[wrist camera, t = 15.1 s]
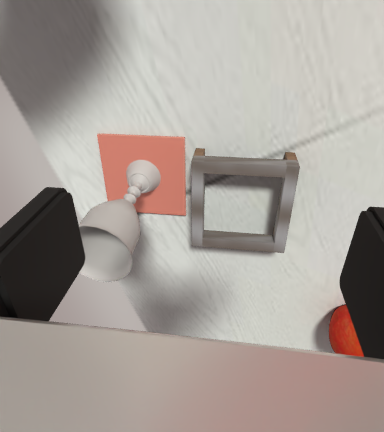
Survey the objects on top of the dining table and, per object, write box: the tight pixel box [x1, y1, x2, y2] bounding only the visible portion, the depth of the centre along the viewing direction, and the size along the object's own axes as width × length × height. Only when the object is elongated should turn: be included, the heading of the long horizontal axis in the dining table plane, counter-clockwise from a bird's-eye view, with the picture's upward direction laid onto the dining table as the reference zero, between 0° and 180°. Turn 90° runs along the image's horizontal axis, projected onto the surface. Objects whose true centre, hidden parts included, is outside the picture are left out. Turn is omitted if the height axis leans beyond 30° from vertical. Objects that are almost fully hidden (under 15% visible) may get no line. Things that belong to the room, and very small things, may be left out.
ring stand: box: [191, 148, 300, 253], centre depth 45 cm, size 13×13×5 cm
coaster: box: [97, 134, 186, 215], centre depth 47 cm, size 12×12×1 cm
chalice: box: [79, 160, 161, 282], centre depth 40 cm, size 7×7×18 cm
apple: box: [329, 305, 364, 357], centre depth 52 cm, size 8×8×11 cm
